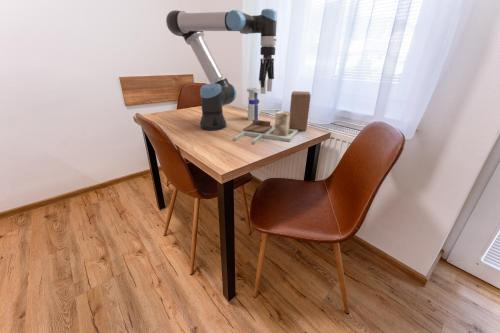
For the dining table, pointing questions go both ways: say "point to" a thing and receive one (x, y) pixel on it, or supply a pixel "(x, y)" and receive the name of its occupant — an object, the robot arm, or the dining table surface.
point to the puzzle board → (267, 135)
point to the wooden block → (299, 110)
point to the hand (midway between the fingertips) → (266, 92)
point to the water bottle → (253, 103)
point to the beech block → (282, 123)
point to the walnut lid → (259, 126)
